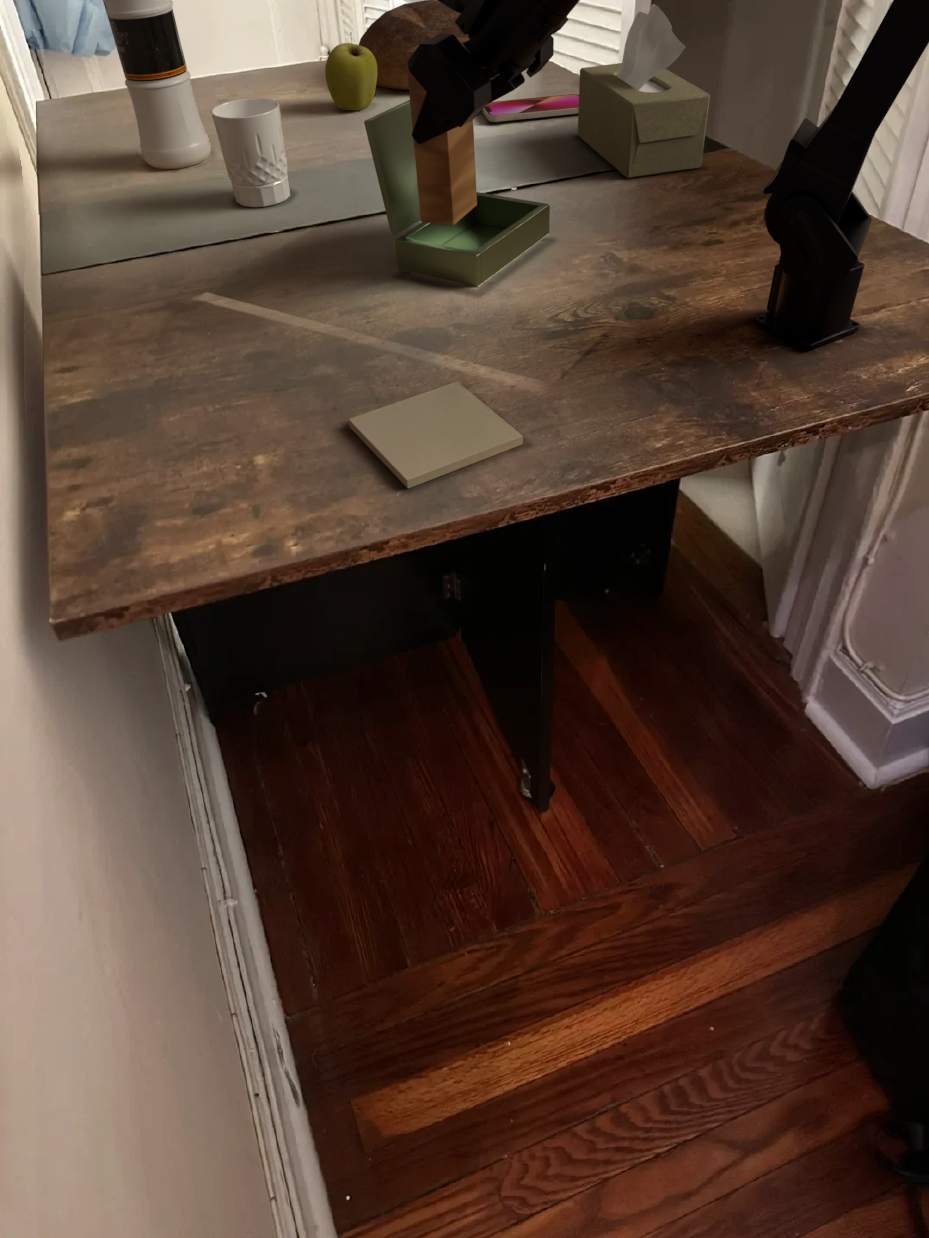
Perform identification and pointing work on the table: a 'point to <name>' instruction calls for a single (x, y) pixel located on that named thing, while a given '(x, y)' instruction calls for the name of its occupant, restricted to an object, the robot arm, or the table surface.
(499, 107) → the smartphone
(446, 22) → the bread
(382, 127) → the flat green panel
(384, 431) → the tile
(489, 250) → the green box
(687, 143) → the tissue box
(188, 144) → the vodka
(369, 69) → the apple
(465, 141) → the wooden block
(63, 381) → the table surface
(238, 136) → the white cup
